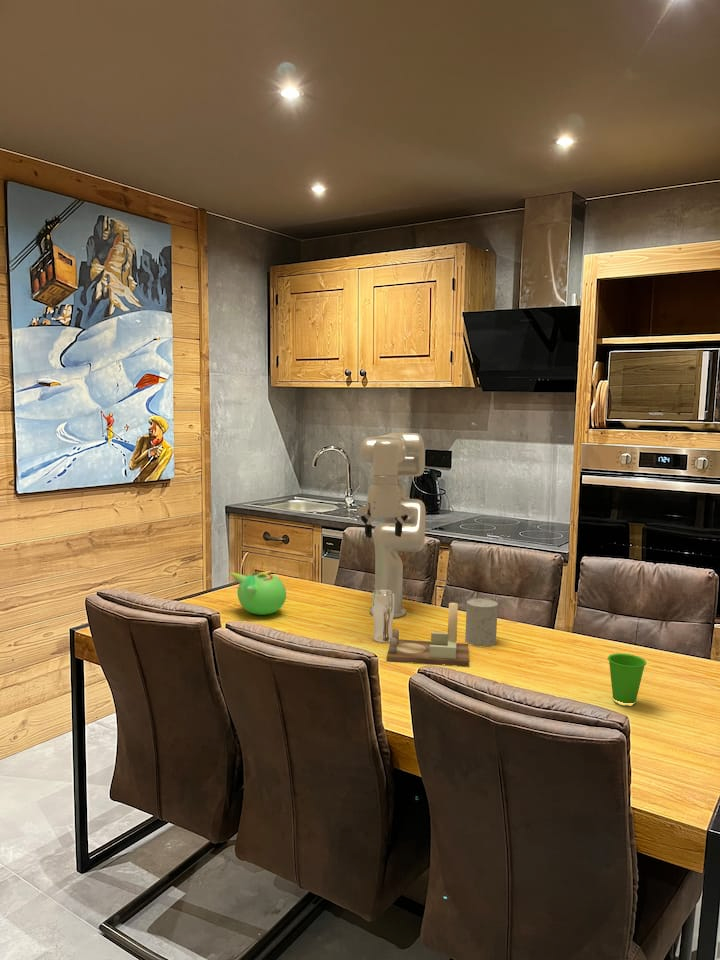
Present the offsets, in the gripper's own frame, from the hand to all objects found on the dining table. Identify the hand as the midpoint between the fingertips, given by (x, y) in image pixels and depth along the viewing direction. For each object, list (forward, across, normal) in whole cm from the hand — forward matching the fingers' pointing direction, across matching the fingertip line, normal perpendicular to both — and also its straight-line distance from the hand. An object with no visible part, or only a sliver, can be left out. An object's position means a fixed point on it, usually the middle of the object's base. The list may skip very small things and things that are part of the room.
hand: (383, 536), depth 223 cm
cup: (+33, -40, +63) cm, 82 cm away
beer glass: (+32, 0, +1) cm, 32 cm away
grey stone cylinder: (+32, -28, +12) cm, 44 cm away
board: (+32, -8, +18) cm, 38 cm away
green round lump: (+32, +30, -36) cm, 56 cm away
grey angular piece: (+30, -11, +20) cm, 38 cm away
